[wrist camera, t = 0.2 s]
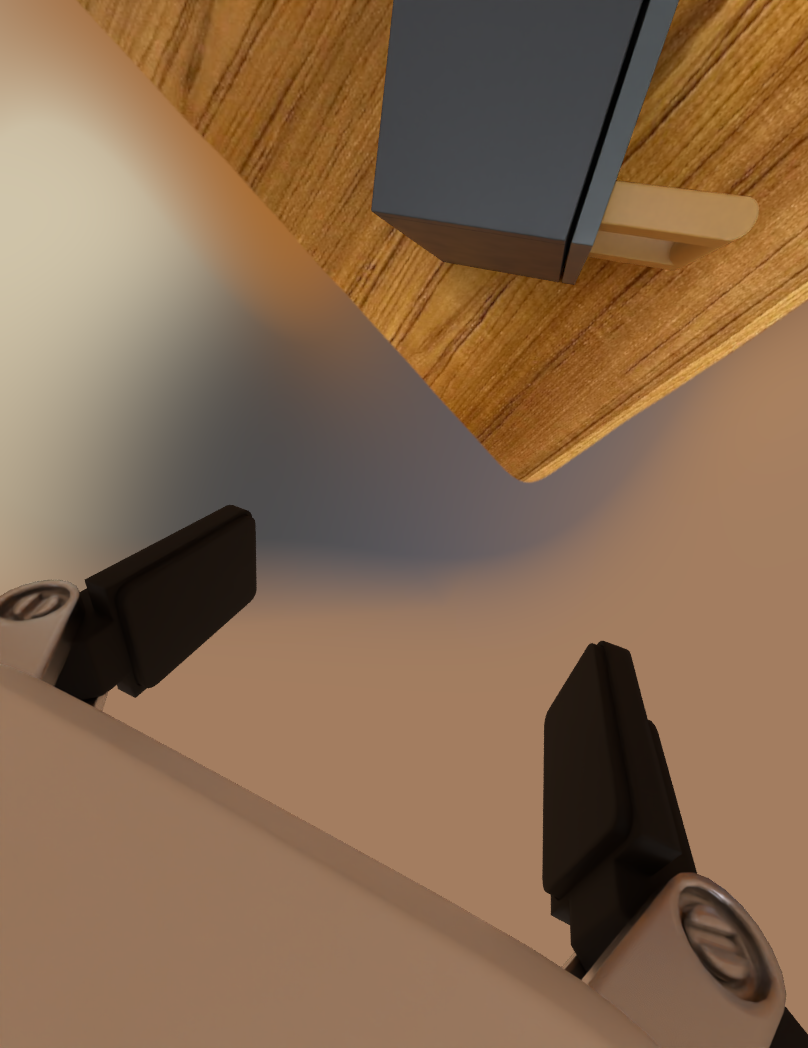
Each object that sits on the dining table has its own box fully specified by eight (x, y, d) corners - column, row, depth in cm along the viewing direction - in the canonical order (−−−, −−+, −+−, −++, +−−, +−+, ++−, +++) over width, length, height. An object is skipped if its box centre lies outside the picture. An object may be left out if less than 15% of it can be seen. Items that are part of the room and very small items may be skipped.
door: (797, -16, 21) (1183, -562, 8) (657, 299, 29) (744, 270, 16) (660, -18, 23) (807, -484, 10) (561, 282, 30) (570, 242, 18)
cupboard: (655, -16, 23) (799, -493, 10) (558, 282, 31) (565, 241, 17) (496, -19, 25) (436, -416, 12) (442, 261, 33) (370, 211, 20)
